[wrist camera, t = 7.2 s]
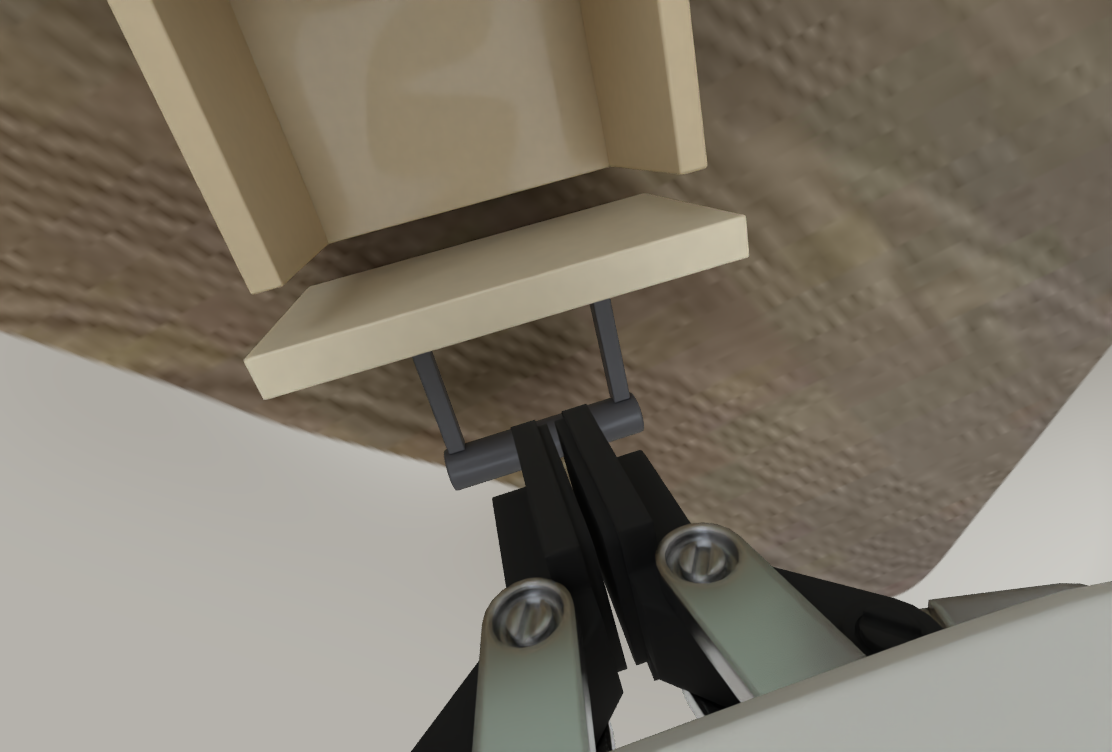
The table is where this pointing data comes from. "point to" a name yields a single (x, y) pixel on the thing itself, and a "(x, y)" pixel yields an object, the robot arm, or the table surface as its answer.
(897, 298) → the table surface
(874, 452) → the table surface
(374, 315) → the drawer
